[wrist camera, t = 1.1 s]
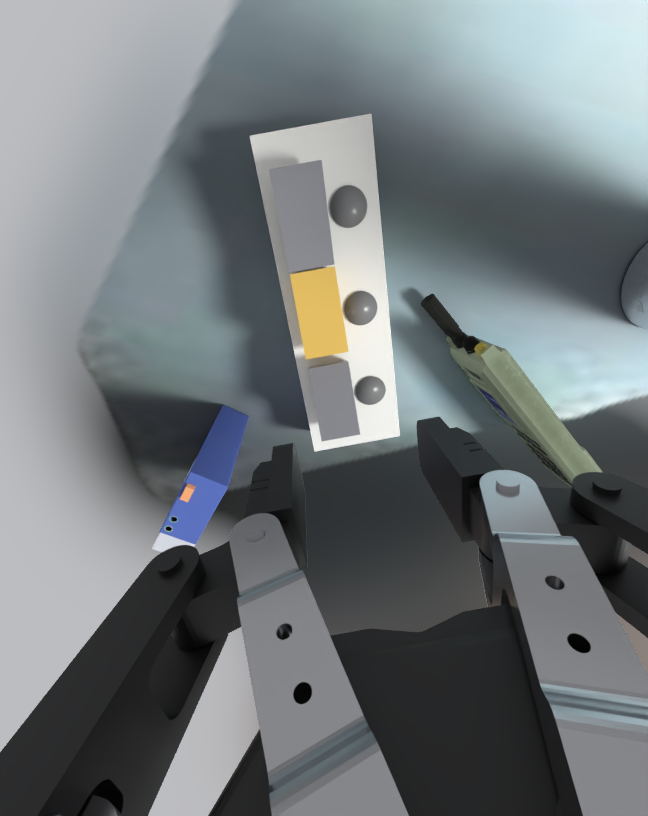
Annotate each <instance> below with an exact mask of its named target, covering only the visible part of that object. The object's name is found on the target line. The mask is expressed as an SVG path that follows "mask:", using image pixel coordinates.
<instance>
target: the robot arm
mask: <svg viewBox="0 0 648 816" xmlns="http://www.w3.org/2000/svg"><path fill="white" fill-rule="evenodd" d="M621 302H622V308H623V310H624V313H625V315H626V317H627V318H628V319H629V320H630V321H631V322H632V323H633V324H635V325H637V326H638V327H642V328H645V329H648V243H646V244H645V246H644V247H643V248H642V249H641V250H640V251H639V252H638V254H637V255H636V256H635V258H634V260H633V261H632V263H631V264H630V266H629V268H628V270H627V273H626V275H625V277H624V281H623V285H622V291H621ZM417 438H418V452H419V462H420V467H421V470H422V473H423V475H424V477H425V479H426V480H427V482H428V484H429V485H430V487H431V489H432V491H433V492H434V494H435V496H436V498H437V499H438V501H439V503H440V504H441V506H442V508H443V510H444V511H445V513H446V515H447V517H448V518H449V520H450V522H451V524H452V525H453V527H454V529H455V531H456V532H457V534H458V536H459V538H460V539H461V541H462V542H466V541H472V540H475V541H476V543H477V544H478V559H479V564H480V569H481V575H482V580H483V584H484V590H485V595H486V600H487V606H488V607H487V608H482V609H476V610H471V611H465V612H462V613H460V614H458V615H456V616H454V617H452V618H450V619H448V620H446V621H444V622H442V623H440V624H437V625H436V626H434V627H431V628H429V629H427V630H425V631H423V632H405V631H391V630H380V629H366V630H360V631H355V632H349V633H344V634H338V635H332V636H330V635H329V632H328V630H327V627H326V625H325V623H324V620H323V618H322V616H321V613H320V611H319V608H318V606H317V604H316V601H315V599H314V597H313V594H312V592H311V590H310V587H309V585H308V582H307V580H306V578H305V576H304V573H303V571H304V570H307V569H308V568H307V537H306V510H305V509H306V507H305V490H304V484H303V478H302V474H301V470H300V465H299V461H298V457H297V453H296V448H295V445H294V443H290V444H285V445H279V446H274V447H273V453H272V461H268V462H262V463H260V465H259V466H258V467H257V468H256V470H255V471H254V472H253V477H252V484H251V487H250V492H249V497H248V502H247V507H246V512H245V517H244V519H243V520H242V521H240V522H239V523H238V524H237V525H236V526H235V527H234V528H233V529H232V531H231V533H230V536H229V541H228V542H227V543H225V544H223V545H221V546H219V547H217V548H215V549H213V550H210V551H208V552H206V553H203V554H201V555H199V553H198V551H197V549H196V548H194V547H193V546H190V545H179V546H175V547H172V548H170V549H167V550H165V551H164V552H162V553H160V554H159V555H158V556H156V557H155V558H154V559H153V560H152V561H151V562H150V563H149V564H148V565H147V566H146V568H145V569H144V570H143V572H142V573H141V574H140V575H139V577H138V578H137V579H136V580H135V582H134V583H133V584H132V586H131V587H130V588H129V589H128V591H127V592H126V593H125V595H124V596H123V597H122V598H121V600H120V601H119V602H118V604H117V605H116V606H115V607H114V608H113V610H112V611H111V612H110V614H109V615H108V616H107V617H106V619H105V620H104V621H103V622H102V624H101V625H100V626H99V628H98V629H97V630H96V631H95V633H94V634H93V635H92V636H91V638H90V639H89V640H88V642H87V643H86V644H85V645H84V647H83V648H82V649H81V650H80V652H79V653H78V654H77V656H76V657H75V658H74V659H73V661H72V662H71V663H70V664H69V666H68V667H67V668H66V670H65V671H64V672H63V673H62V675H61V676H60V677H59V679H58V680H57V681H56V682H55V684H54V685H53V686H52V688H51V689H50V690H49V691H48V692H47V694H46V695H45V696H44V698H43V699H42V700H41V701H40V703H39V704H38V705H37V706H36V708H35V709H34V710H33V711H32V713H31V714H30V715H29V717H28V718H27V719H26V721H25V722H24V723H23V724H22V725H21V727H20V728H19V729H18V731H17V732H16V733H15V734H14V736H13V737H12V738H11V739H10V741H9V742H8V743H7V745H6V746H5V747H4V748H3V750H2V751H1V752H0V816H148V814H149V811H150V809H151V807H152V805H153V803H154V800H155V798H156V796H157V794H158V791H159V789H160V787H161V785H162V782H163V780H164V778H165V776H166V773H167V771H168V769H169V767H170V764H171V762H172V760H173V758H174V755H175V753H176V751H177V749H178V747H179V744H180V742H181V740H182V738H183V736H184V733H185V731H186V729H187V727H188V724H189V722H190V720H191V718H192V715H193V713H194V711H195V709H196V706H197V704H198V701H199V700H200V697H201V695H202V693H203V690H204V688H205V686H206V684H207V682H208V680H209V677H210V675H211V673H212V671H213V668H214V666H215V664H216V662H217V659H218V657H219V655H220V653H221V650H222V648H223V646H224V644H225V641H226V639H227V636H228V633H230V632H232V631H234V630H235V629H237V628H239V627H242V632H243V638H244V643H245V649H246V655H247V660H248V665H249V671H250V677H251V683H252V688H253V693H254V699H255V705H256V710H257V716H258V721H259V727H260V729H259V731H258V733H257V735H256V736H255V738H254V740H253V741H252V743H251V744H250V746H249V748H248V750H247V751H246V753H245V755H244V756H243V758H242V760H241V761H240V763H239V765H238V767H237V768H236V770H235V772H234V773H233V775H232V777H231V778H230V780H229V782H228V783H227V785H226V787H225V788H224V790H223V792H222V794H221V795H220V797H219V799H218V800H217V802H216V804H215V805H214V807H213V809H212V811H211V812H210V814H209V815H208V816H648V674H647V672H646V670H645V668H644V666H643V664H642V662H641V661H640V659H639V656H638V655H637V653H636V651H635V649H634V647H633V645H632V643H631V641H630V640H629V638H628V636H627V634H626V632H625V630H624V628H623V626H622V624H621V622H620V621H619V619H618V617H617V615H616V613H617V614H618V615H620V616H621V617H622V618H623V619H624V620H626V621H627V622H628V623H630V624H631V625H632V626H633V627H635V628H636V629H637V630H638V631H640V632H641V633H642V634H644V635H645V636H646V637H647V638H648V568H647V567H645V566H643V565H642V564H640V563H639V562H637V561H636V560H634V559H633V558H631V557H629V553H630V549H631V545H634V546H635V547H637V548H639V549H641V550H642V551H644V552H645V553H647V554H648V489H646V488H644V487H642V486H640V485H638V484H635V483H633V482H631V481H629V480H627V479H625V478H622V477H619V476H616V475H613V474H608V473H603V472H587V473H582V474H579V475H577V476H576V477H575V478H574V479H573V482H572V489H563V488H562V489H561V488H542V487H537V485H536V483H535V482H534V481H533V480H532V479H531V478H529V477H528V476H526V475H524V474H521V473H518V472H515V471H509V470H504V469H503V468H502V467H501V466H500V465H499V464H498V462H497V461H495V459H494V458H493V457H492V456H491V455H490V454H489V453H488V452H487V451H486V450H484V449H483V447H482V446H481V445H480V444H479V443H477V441H476V440H475V439H474V438H473V437H472V436H471V434H470V433H468V432H466V431H463V430H461V429H459V428H457V427H456V428H449V427H448V426H447V425H446V424H445V423H444V421H443V420H442V419H441V418H440V417H434V418H429V419H423V420H418V421H417ZM615 612H616V613H615Z"/></svg>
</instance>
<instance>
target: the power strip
mask: <svg viewBox="0 0 648 816" xmlns="http://www.w3.org/2000/svg"><path fill="white" fill-rule="evenodd" d="M250 141H251V146H252V150H253V155H254V160H255V165H256V170H257V175H258V180H259V184H260V189H261V194H262V199H263V204H264V209H265V213H266V218H267V223H268V228H269V233H270V238H271V243H272V247H273V252H274V257H275V262H276V267H277V272H278V276H279V281H280V286H281V291H282V296H283V301H284V306H285V310H286V315H287V320H288V325H289V330H290V335H291V339H292V344H293V349H294V354H295V359H296V364H297V369H298V373H299V378H300V383H301V388H302V393H303V398H304V402H305V407H306V412H307V417H308V422H309V427H310V432H311V436H312V441H313V446H314V451H320V450H326V449H331V448H337V447H342V446H348V445H353V444H359V443H364V442H370V441H375V440H381V439H386V438H392V437H397V436H400V431H399V420H398V409H397V397H396V386H395V375H394V363H393V352H392V341H391V329H390V318H389V306H388V295H387V284H386V272H385V261H384V250H383V238H382V227H381V216H380V204H379V193H378V182H377V170H376V159H375V148H374V136H373V125H372V114H366V115H360V116H355V117H349V118H344V119H338V120H333V121H327V122H322V123H316V124H311V125H306V126H300V127H295V128H289V129H284V130H278V131H273V132H267V133H262V134H256V135H251V136H250ZM316 160H322V167H323V175H324V183H325V191H326V200H327V208H328V216H329V224H330V232H331V240H332V248H333V256H334V264H333V265H328V266H322V267H317V268H312V269H306V270H301V271H295V272H290V273H289V268H288V263H287V258H286V253H285V248H284V243H283V238H282V233H281V228H280V223H279V218H278V213H277V208H276V203H275V198H274V193H273V188H272V183H271V178H270V173H269V169H273V168H278V167H283V166H289V165H294V164H300V163H305V162H311V161H316ZM334 266H335V271H336V277H337V283H338V289H339V295H340V302H341V308H342V314H343V320H344V326H345V332H346V339H347V345H348V351H349V352H345V353H339V354H334V355H328V356H323V357H317V358H312V359H306V358H305V353H304V348H303V342H302V337H301V332H300V326H299V321H298V316H297V310H296V305H295V300H294V294H293V289H292V284H291V278H290V274H296V273H301V272H306V271H312V270H317V269H323V268H328V267H334ZM345 360H347V361H348V362H349V368H350V375H351V381H352V387H353V393H354V399H355V405H356V411H357V418H358V424H359V430H360V435H355V436H349V437H344V438H338V439H333V440H327V441H321V435H320V430H319V425H318V419H317V414H316V409H315V403H314V398H313V393H312V387H311V382H310V377H309V371H308V367H312V366H318V365H323V364H329V363H334V362H340V361H345Z"/></svg>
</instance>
